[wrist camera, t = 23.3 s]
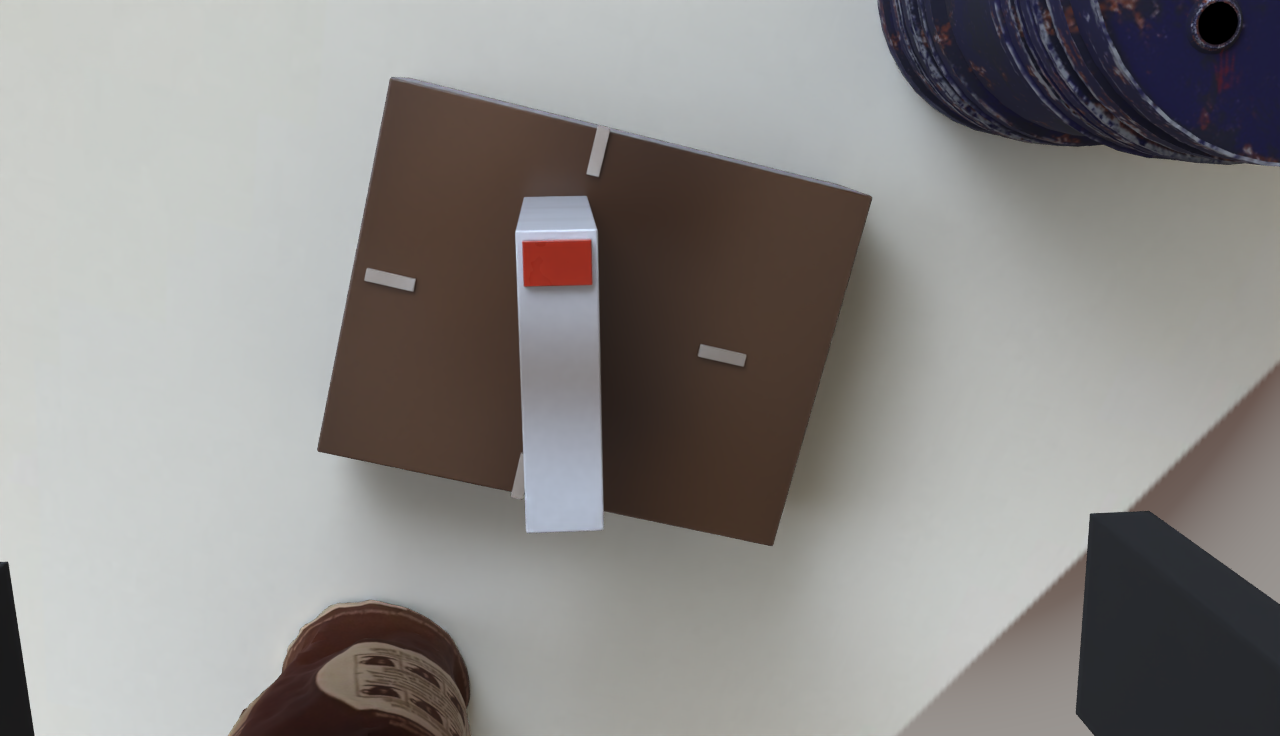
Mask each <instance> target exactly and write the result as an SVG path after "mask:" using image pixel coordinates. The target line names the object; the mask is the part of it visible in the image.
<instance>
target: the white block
mask: <svg viewBox="0 0 1280 736" xmlns="http://www.w3.org/2000/svg"><path fill="white" fill-rule="evenodd" d="M515 243H516V270H517V297H518V325H519V352H520V379H521V406H522V433H523V461H524V488H525V515H526V532H527V533H547V532H573V531H600V530H603V529H604V504H603V456H602V408H601V359H600V311H599V263H598V230H597V227H596V224H595V220H594V217H593V214H592V211H591V207H590V204H589V201H588V198H587V196H549V197H524V199H523V203H522V207H521V211H520V215H519V219H518V223H517V227H516V231H515Z"/></svg>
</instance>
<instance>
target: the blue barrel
mask: <svg viewBox="0 0 1280 736" xmlns="http://www.w3.org/2000/svg"><path fill="white" fill-rule="evenodd" d="M878 9H879V14H880V19H881V25H882V30H883V33H884V35H885V38H886V41H887V44H888V47H889V50H890V52H891V54H892V56H893V58H894V60H895V62H896V63H897V65H898V67H899V69H900V71H901V73H902V74H903V76H904V77H905V78H906V79H907V81H908V82H909V83H910V85H911V86H912V87H913V88H914V90H915V91H916V92H917V93H918V94H919V95H920V96H921V97H922V98H923V99H924V100H925V101H926V102H928V103H929V104H930V105H931V106H932V107H933V108H934V109H936V110H937V111H939V112H940V113H942V114H943V115H945V116H947V117H948V118H950V119H951V120H953V121H955V122H957V123H960V124H962V125H964V126H967V127H969V128H971V129H974V130H977V131H982V132H986V133H990V134H994V135H1000V136H1002V137H1006V138H1010V139H1014V140H1018V141H1023V142H1027V143H1035V144H1046V145H1056V146H1075V147H1079V146H1094V145H1106V146H1108V147H1111V148H1113V149H1115V150H1118V151H1121V152H1126V153H1130V154H1134V155H1138V156H1142V157H1146V158H1158V159H1171V160H1179V161H1186V162H1194V163H1209V164H1223V165H1232V164H1242V163H1248V164H1257V165H1265V166H1279V167H1280V0H878Z"/></svg>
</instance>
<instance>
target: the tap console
mask: <svg viewBox="0 0 1280 736" xmlns="http://www.w3.org/2000/svg"><path fill="white" fill-rule="evenodd" d="M549 196H587V198H588V201H589V204H590V207H591V211H592V214H593V217H594V220H595V224H596V227H597V230H598V263H599V311H600V359H601V408H602V456H603V504H604V511H605V512H610V513H615V514H620V515H625V516H629V517H634V518H639V519H644V520H649V521H653V522H658V523H663V524H668V525H673V526H677V527H682V528H687V529H692V530H696V531H701V532H706V533H711V534H716V535H720V536H725V537H730V538H735V539H740V540H744V541H749V542H754V543H759V544H764V545H768V546H773V544H774V540H775V537H776V533H777V530H778V526H779V523H780V519H781V516H782V512H783V509H784V505H785V502H786V498H787V495H788V491H789V488H790V484H791V481H792V477H793V474H794V470H795V467H796V463H797V460H798V456H799V453H800V449H801V446H802V442H803V439H804V435H805V432H806V428H807V425H808V421H809V418H810V414H811V411H812V407H813V404H814V400H815V397H816V393H817V390H818V386H819V383H820V379H821V376H822V372H823V369H824V365H825V362H826V358H827V355H828V351H829V348H830V344H831V341H832V337H833V334H834V330H835V327H836V323H837V320H838V316H839V313H840V309H841V306H842V302H843V299H844V295H845V292H846V288H847V285H848V281H849V278H850V274H851V271H852V267H853V264H854V260H855V257H856V253H857V250H858V246H859V243H860V239H861V236H862V232H863V229H864V225H865V222H866V218H867V215H868V211H869V208H870V204H871V201H872V197H871V196H869V195H866V194H864V193H861V192H858V191H855V190H852V189H849V188H847V187H844V186H841V185H838V184H834V183H830V182H826V181H822V180H818V179H814V178H809V177H805V176H801V175H797V174H793V173H789V172H785V171H781V170H777V169H773V168H769V167H765V166H761V165H757V164H753V163H749V162H745V161H741V160H737V159H733V158H729V157H725V156H721V155H717V154H713V153H709V152H705V151H701V150H697V149H693V148H689V147H685V146H681V145H677V144H673V143H669V142H665V141H661V140H657V139H653V138H649V137H645V136H641V135H637V134H633V133H629V132H625V131H621V130H617V129H613V128H610V127H606V126H602V125H597V124H593V123H589V122H585V121H581V120H577V119H573V118H569V117H565V116H561V115H557V114H553V113H549V112H545V111H540V110H536V109H532V108H528V107H524V106H520V105H516V104H512V103H508V102H504V101H500V100H496V99H492V98H488V97H484V96H480V95H476V94H472V93H468V92H464V91H460V90H456V89H452V88H448V87H444V86H440V85H436V84H432V83H428V82H424V81H420V80H416V79H412V78H402V77H391V78H390V81H389V87H388V92H387V97H386V102H385V107H384V112H383V117H382V122H381V127H380V132H379V137H378V143H377V148H376V153H375V158H374V163H373V168H372V173H371V178H370V183H369V188H368V194H367V199H366V204H365V209H364V214H363V219H362V224H361V229H360V234H359V239H358V244H357V250H356V255H355V260H354V265H353V270H352V275H351V280H350V285H349V290H348V295H347V300H346V306H345V311H344V316H343V321H342V326H341V331H340V336H339V341H338V346H337V351H336V357H335V362H334V367H333V372H332V377H331V382H330V387H329V392H328V397H327V402H326V407H325V413H324V418H323V423H322V428H321V433H320V438H319V443H318V448H317V450H318V451H319V452H323V453H327V454H332V455H337V456H342V457H347V458H351V459H356V460H361V461H366V462H371V463H375V464H380V465H385V466H390V467H395V468H399V469H404V470H409V471H414V472H418V473H423V474H428V475H433V476H438V477H442V478H447V479H452V480H457V481H462V482H466V483H471V484H476V485H481V486H486V487H490V488H495V489H500V490H505V491H510V492H512V493H511V497H512V498H516V499H521V500H522V499H523V496H524V495H525V488H524V461H523V433H522V406H521V379H520V352H519V325H518V297H517V270H516V243H515V231H516V227H517V223H518V219H519V215H520V211H521V207H522V203H523V199H524V197H549Z"/></svg>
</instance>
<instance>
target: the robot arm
mask: <svg viewBox="0 0 1280 736" xmlns="http://www.w3.org/2000/svg"><path fill="white" fill-rule="evenodd" d="M1076 714H1077V715H1078V717H1079V718H1080V719H1081V720H1082V721H1083V723H1084V724H1085V725H1086V726H1087V727H1088V729H1089V730H1090V731H1091V732H1092V733H1093V734H1094V736H1280V604H1278V603H1277V602H1276V601H1274V600H1273V599H1271V598H1270V597H1269V596H1267V595H1266V594H1264V593H1263V592H1262V591H1260V590H1259V589H1258V588H1256V587H1255V586H1253V585H1252V584H1250V583H1249V582H1248V581H1246V580H1245V579H1244V578H1242V577H1241V576H1239V575H1238V574H1237V573H1235V572H1234V571H1232V570H1231V569H1230V568H1228V567H1227V566H1225V565H1224V564H1223V563H1221V562H1220V561H1218V560H1217V559H1216V558H1214V557H1213V556H1211V555H1210V554H1209V553H1207V552H1206V551H1204V550H1203V549H1201V548H1200V547H1199V546H1198V545H1196V544H1195V543H1193V542H1192V541H1191V540H1189V539H1188V538H1186V537H1185V536H1184V535H1182V534H1181V533H1179V532H1178V531H1177V530H1175V529H1174V528H1172V527H1171V526H1169V525H1168V524H1167V523H1165V522H1164V521H1163V520H1161V519H1160V518H1158V517H1157V516H1156V515H1154V514H1153V513H1151V512H1150V511H1139V512H1115V513H1093V514H1090V521H1089V535H1088V549H1087V564H1086V577H1085V592H1084V605H1083V620H1082V633H1081V647H1080V661H1079V676H1078V690H1077V703H1076ZM0 736H34V729H33V723H32V716H31V709H30V703H29V696H28V690H27V683H26V676H25V670H24V663H23V657H22V650H21V643H20V637H19V630H18V624H17V617H16V611H15V604H14V597H13V591H12V584H11V578H10V571H9V564H8V562H0Z"/></svg>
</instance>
